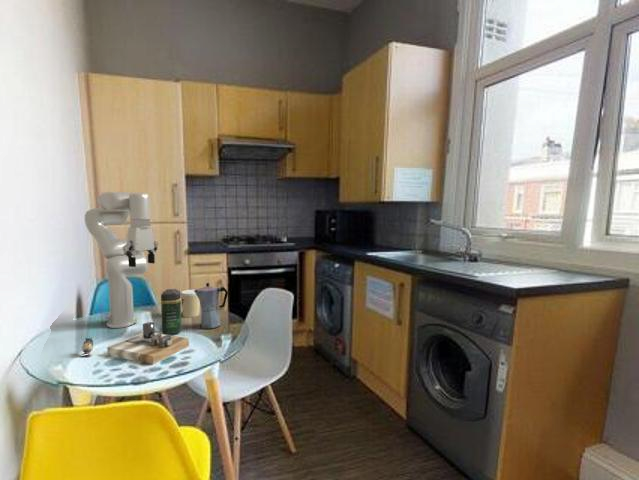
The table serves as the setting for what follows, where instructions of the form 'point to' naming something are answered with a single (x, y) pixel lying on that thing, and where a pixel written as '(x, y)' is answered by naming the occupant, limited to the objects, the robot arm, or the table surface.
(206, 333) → the table surface
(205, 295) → the moka pot
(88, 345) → the vase
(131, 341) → the lock board
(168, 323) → the coffee jar
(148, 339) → the dark metal knob
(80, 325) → the table surface
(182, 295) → the coffee cup
